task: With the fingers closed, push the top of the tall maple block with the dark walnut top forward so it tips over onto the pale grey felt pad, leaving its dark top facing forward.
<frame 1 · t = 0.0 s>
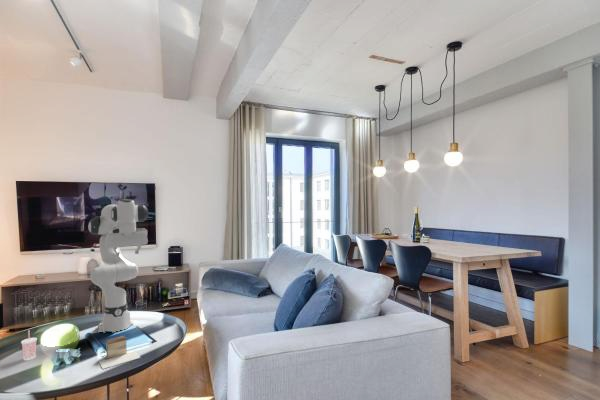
hand: (127, 254, 176), 48 cm above the table, tool pointing down, fingers open, 8 cm apart
beverage cup: (29, 358, 162), on the table
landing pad: (120, 360, 158), on the table
block: (116, 355, 163), on the table
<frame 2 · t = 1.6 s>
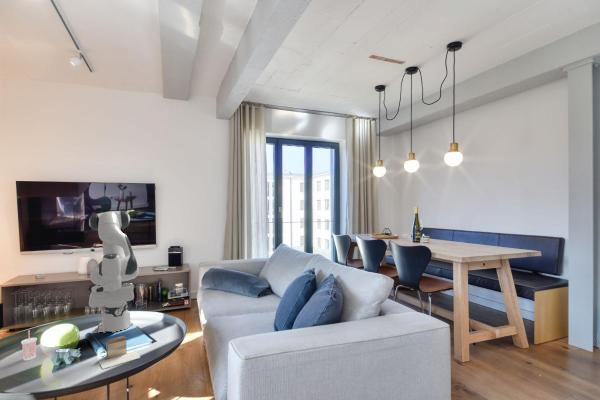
hand: (112, 312, 170), 19 cm above the table, tool pointing down, fingers open, 7 cm apart
nothing on the table moved.
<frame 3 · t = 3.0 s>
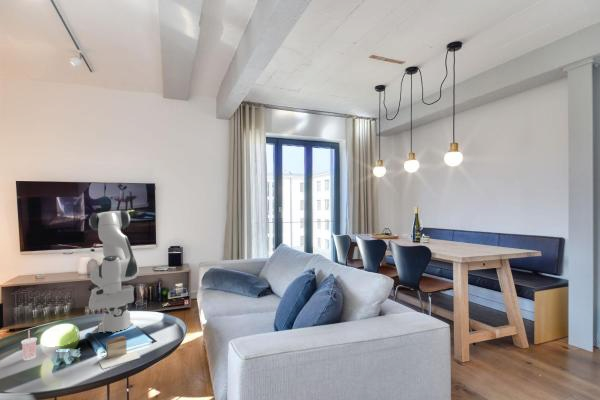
hand: (112, 314, 169), 18 cm above the table, tool pointing down, fingers closed
nothing on the table moved.
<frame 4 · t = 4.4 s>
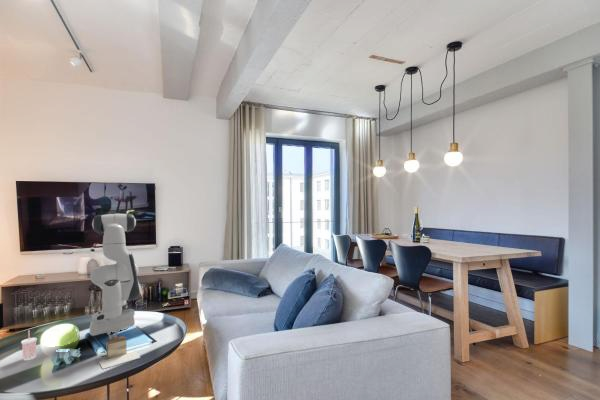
hand: (113, 339, 169), 6 cm above the table, tool pointing down, fingers closed
nothing on the table moved.
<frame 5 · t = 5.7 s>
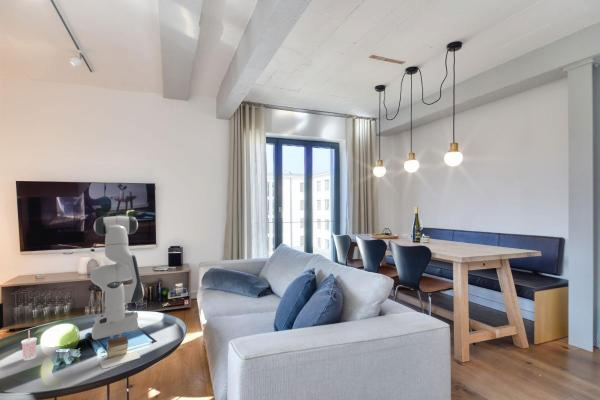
hand: (115, 343, 164), 6 cm above the table, tool pointing down, fingers closed
block: (116, 353, 163), point 1 cm above the table, tilted 27°
everything else where it was.
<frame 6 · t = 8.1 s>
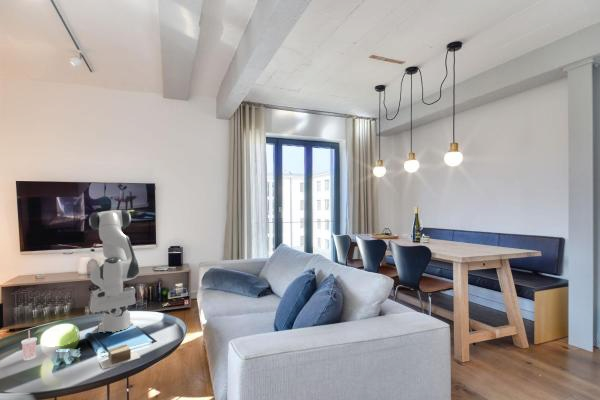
hand: (113, 316, 168), 18 cm above the table, tool pointing down, fingers closed
block: (117, 351, 162), point 3 cm above the table, tilted 90°, touching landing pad
everything else where it was.
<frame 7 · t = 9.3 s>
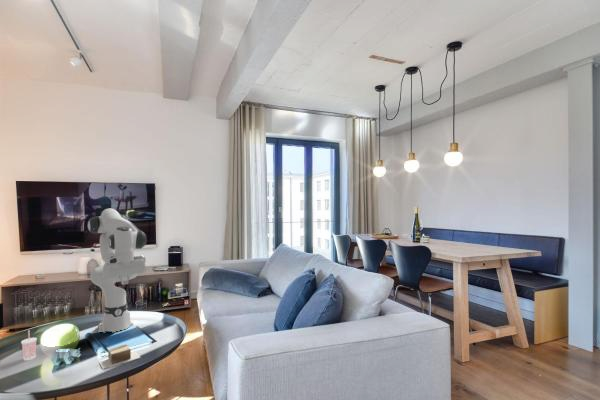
hand: (124, 284, 173), 33 cm above the table, tool pointing down, fingers closed
nothing on the table moved.
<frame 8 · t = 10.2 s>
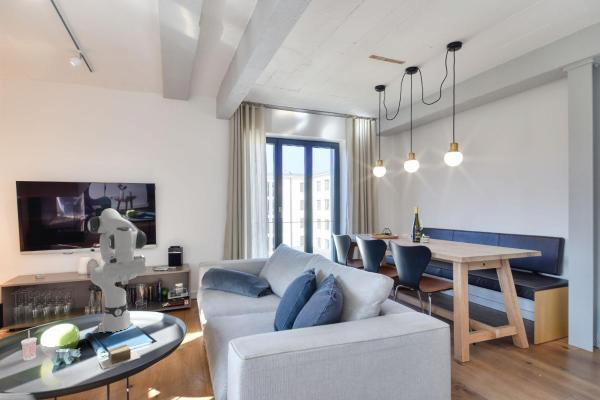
hand: (124, 284, 173), 33 cm above the table, tool pointing down, fingers closed
nothing on the table moved.
at the end: block tilted 90°; block inside the target area (3.6 cm from its centre), point 2.5 cm above the table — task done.
